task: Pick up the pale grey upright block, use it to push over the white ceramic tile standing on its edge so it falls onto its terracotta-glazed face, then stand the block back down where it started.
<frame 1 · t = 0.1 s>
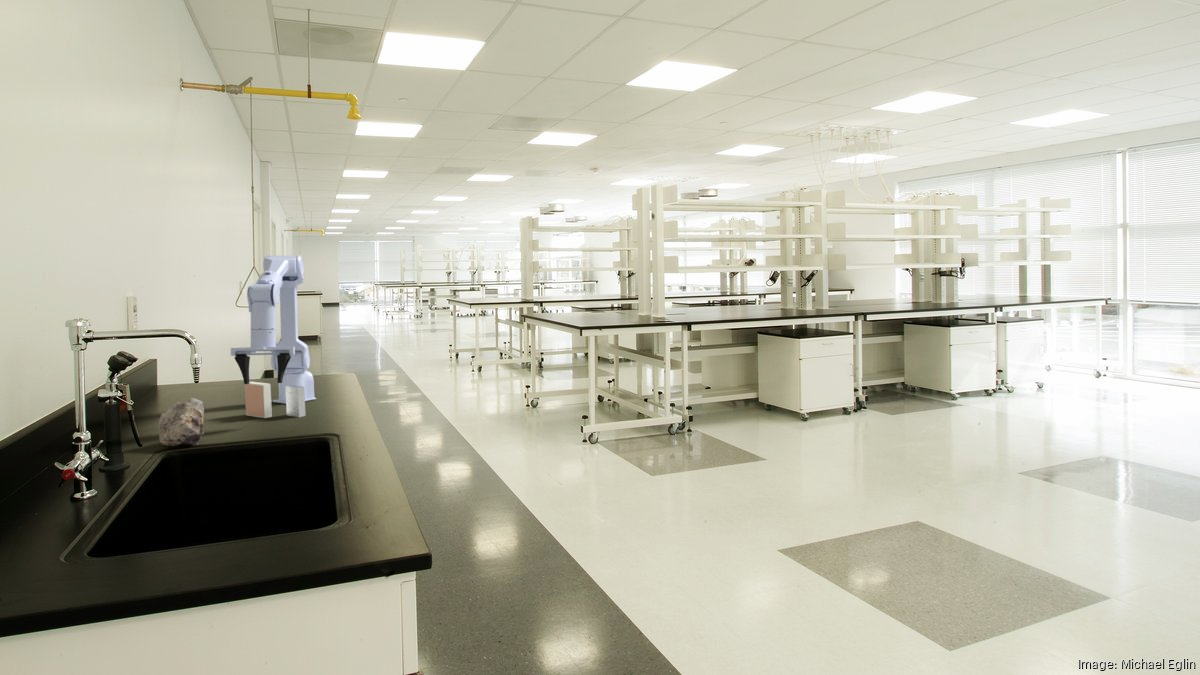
hand: (263, 383, 165), 10 cm above the counter, tool pointing down, fingers open, 7 cm apart
tile: (258, 415, 176), on the counter
pale grey upright block: (296, 415, 176), on the counter
rock: (182, 444, 146), on the counter
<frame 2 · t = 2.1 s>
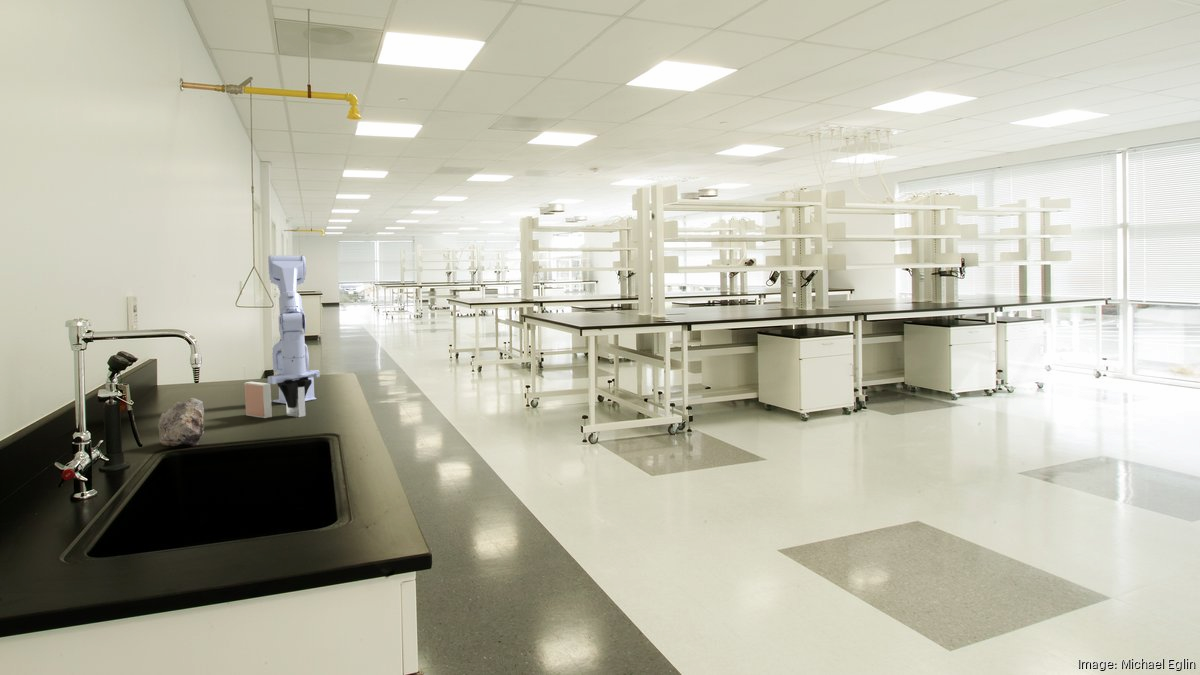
hand: (295, 406, 176), 2 cm above the counter, tool pointing down, fingers closed on pale grey upright block, 2 cm apart
pale grey upright block: (296, 415, 176), on the counter, touching gripper
everything else where it was.
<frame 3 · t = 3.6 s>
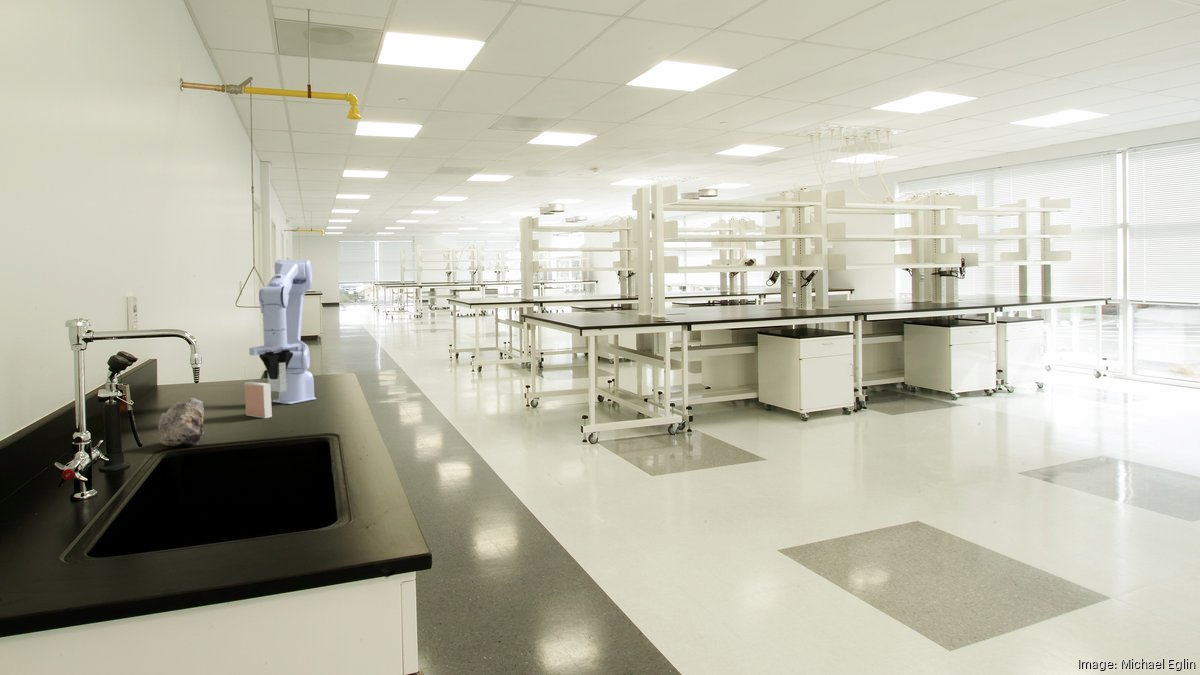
hand: (277, 378, 180), 9 cm above the counter, tool pointing down, fingers closed on pale grey upright block
pale grey upright block: (277, 390, 180), point 6 cm above the counter, touching gripper
everything else where it was.
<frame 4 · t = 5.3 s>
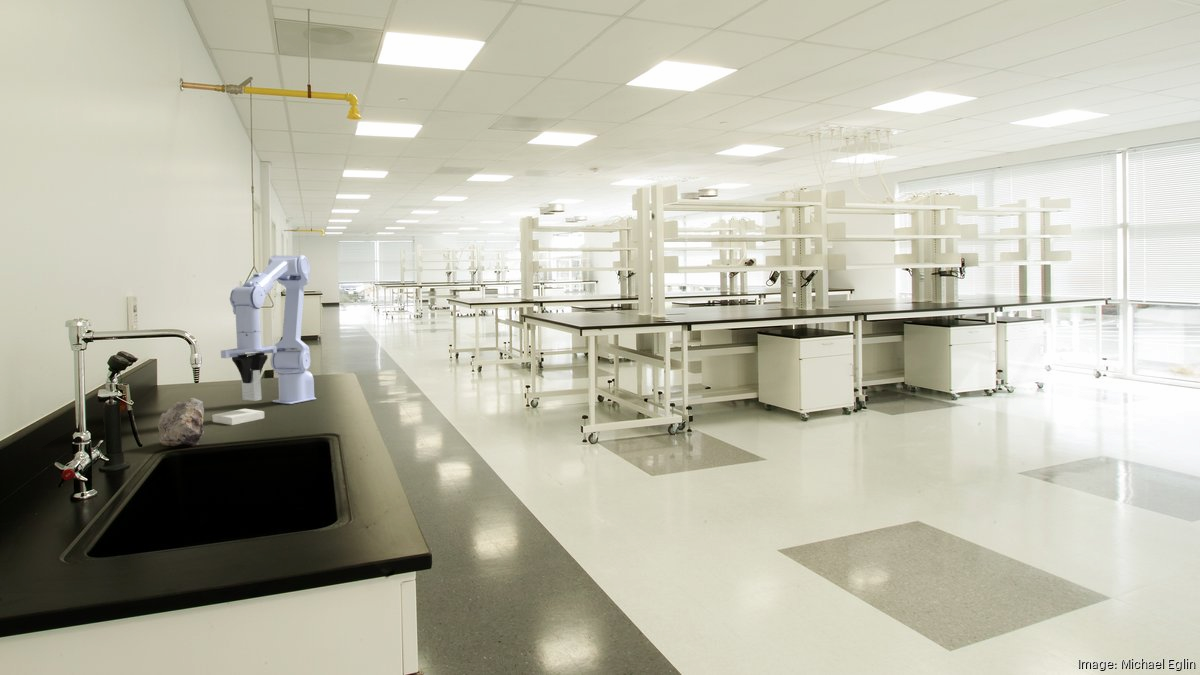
hand: (251, 382, 173), 9 cm above the counter, tool pointing down, fingers closed on pale grey upright block
tile: (254, 413, 174), point 1 cm above the counter, tilted 90°
pale grey upright block: (252, 399, 173), point 5 cm above the counter, touching gripper
everything else where it was.
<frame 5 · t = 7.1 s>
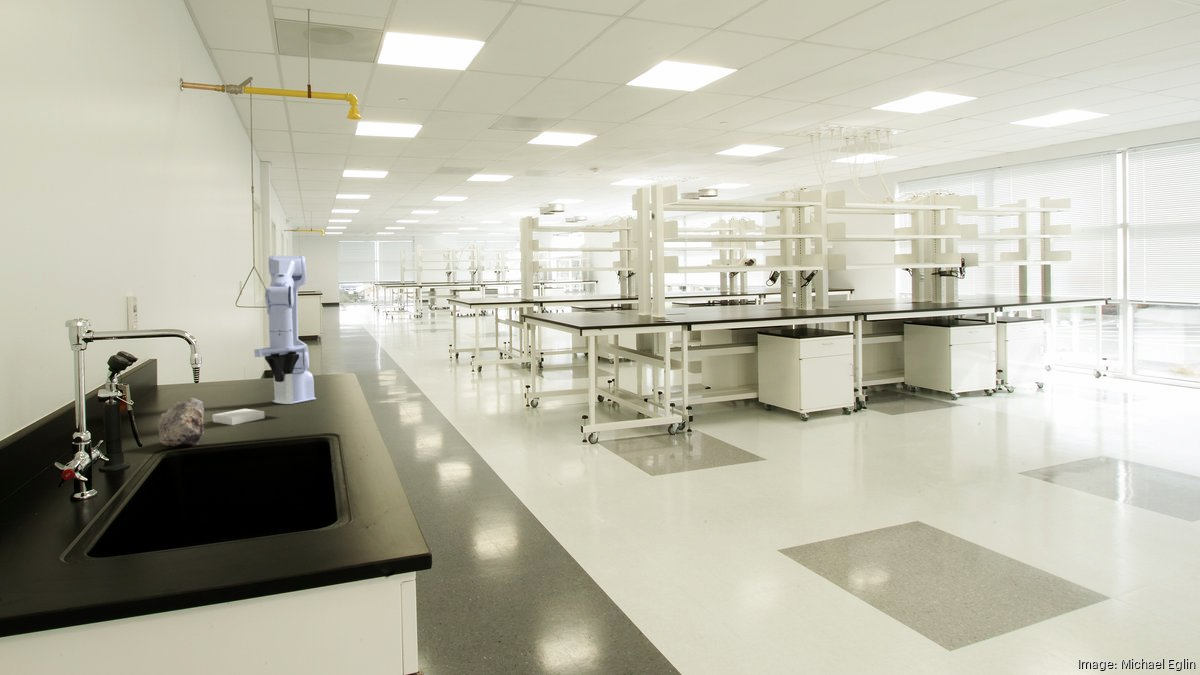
hand: (283, 381, 175), 9 cm above the counter, tool pointing down, fingers closed on pale grey upright block
pale grey upright block: (284, 402, 176), point 4 cm above the counter, touching gripper
everything else where it was.
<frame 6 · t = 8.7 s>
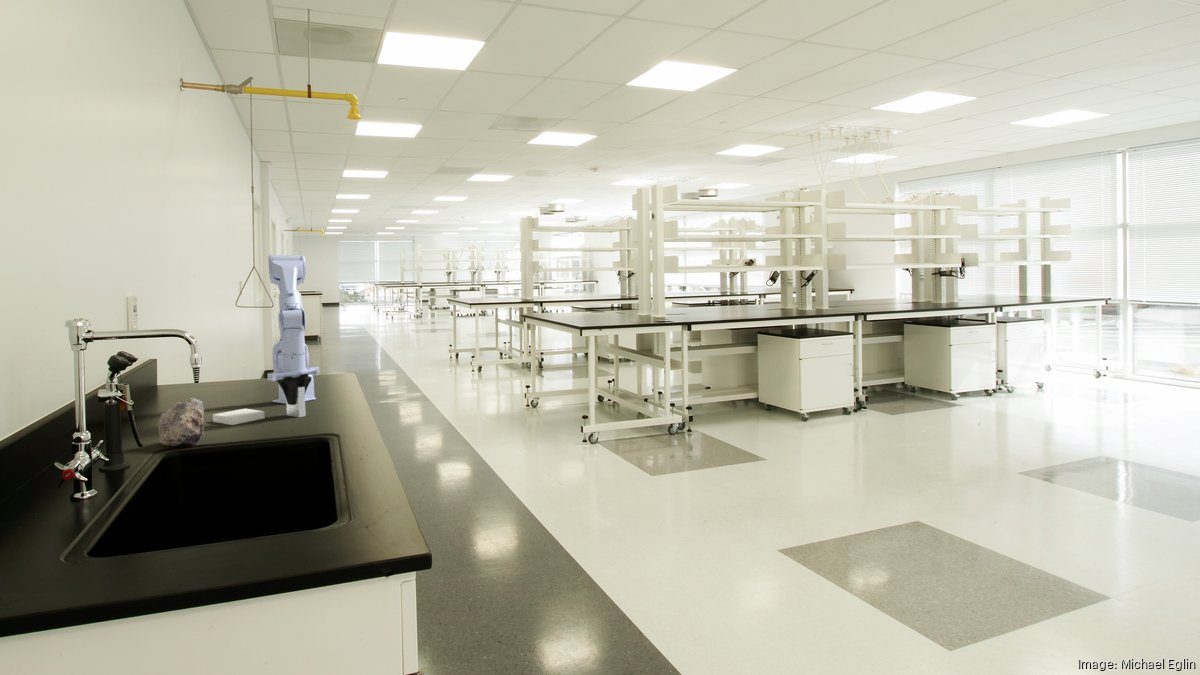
hand: (295, 403, 176), 3 cm above the counter, tool pointing down, fingers closed on pale grey upright block, 2 cm apart
pale grey upright block: (296, 415, 176), on the counter, touching gripper
everything else where it was.
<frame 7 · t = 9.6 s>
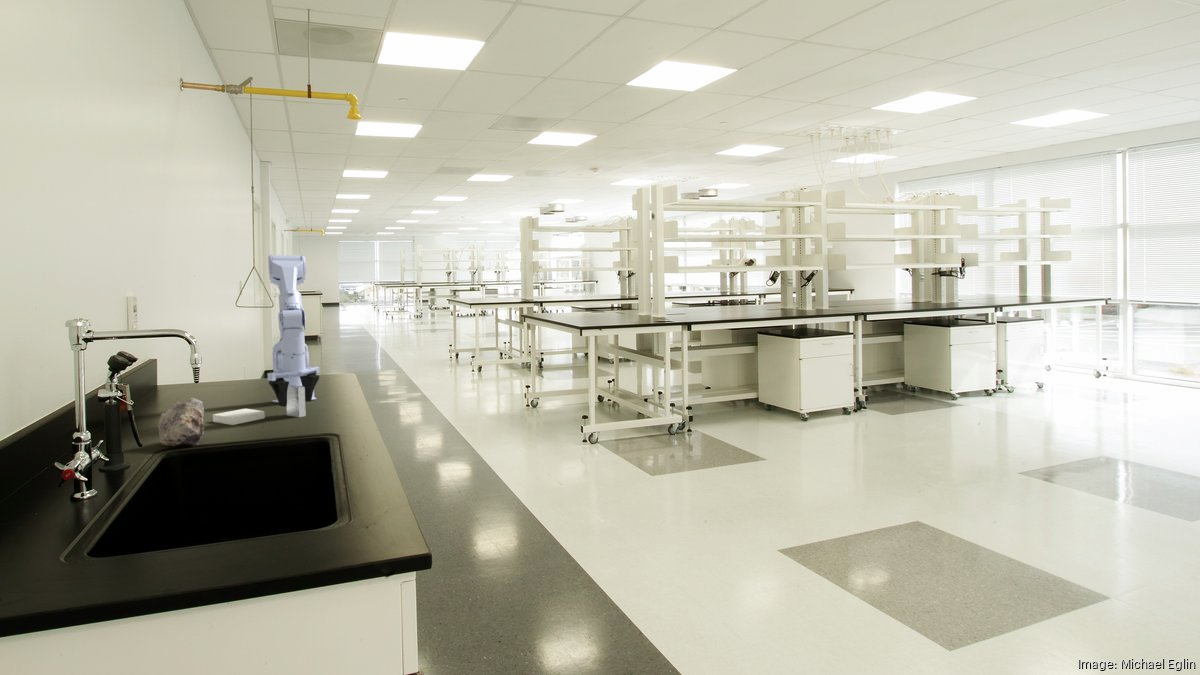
hand: (295, 403, 176), 3 cm above the counter, tool pointing down, fingers open, 7 cm apart
pale grey upright block: (296, 415, 176), on the counter
everything else where it was.
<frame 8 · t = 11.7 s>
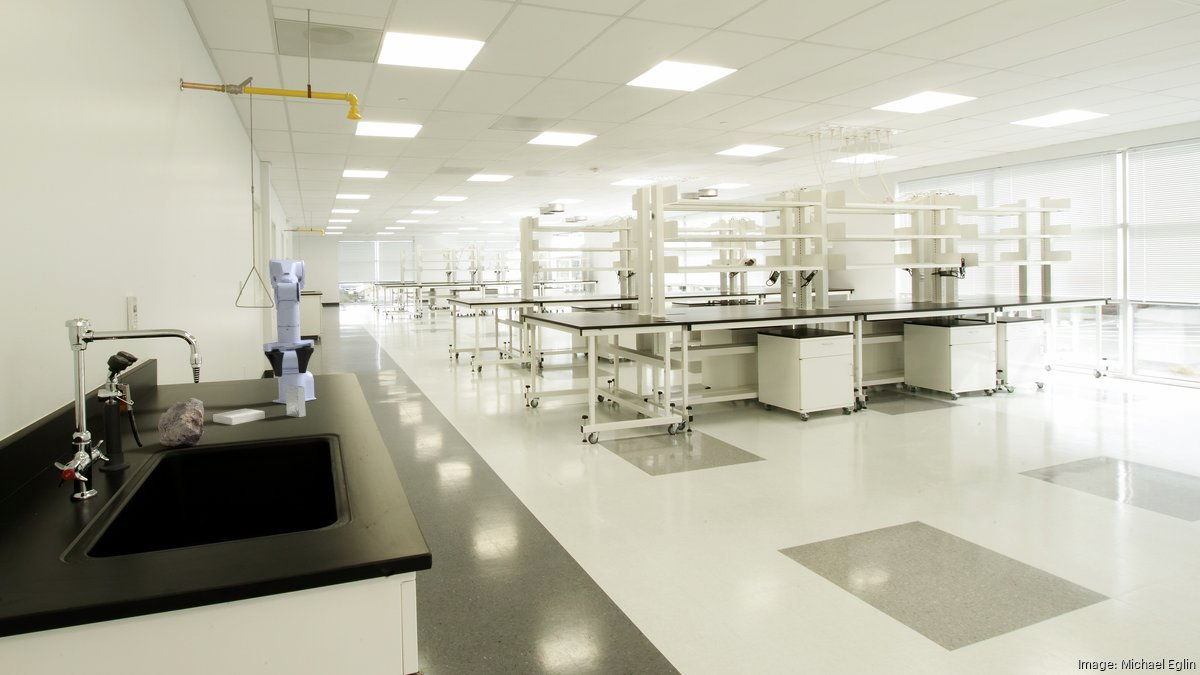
hand: (290, 374, 180), 10 cm above the counter, tool pointing down, fingers open, 7 cm apart
nothing on the counter moved.
at the end: tile tilted 90°; tile inside the target area (3.9 cm from its centre), point 0.8 cm above the counter; pale grey upright block inside the target area (0.1 cm from its centre), on the counter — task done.
